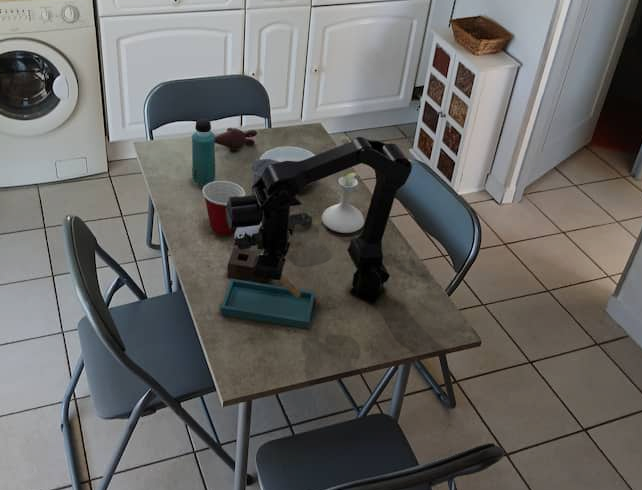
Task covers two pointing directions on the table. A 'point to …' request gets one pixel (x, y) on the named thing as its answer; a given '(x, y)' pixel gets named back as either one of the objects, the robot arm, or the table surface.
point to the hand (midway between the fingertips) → (271, 276)
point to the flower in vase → (344, 207)
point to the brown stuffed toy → (235, 138)
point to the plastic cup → (220, 204)
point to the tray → (267, 303)
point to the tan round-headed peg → (289, 286)
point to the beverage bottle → (203, 153)
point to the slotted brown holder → (243, 265)
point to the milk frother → (257, 172)
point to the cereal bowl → (287, 154)
